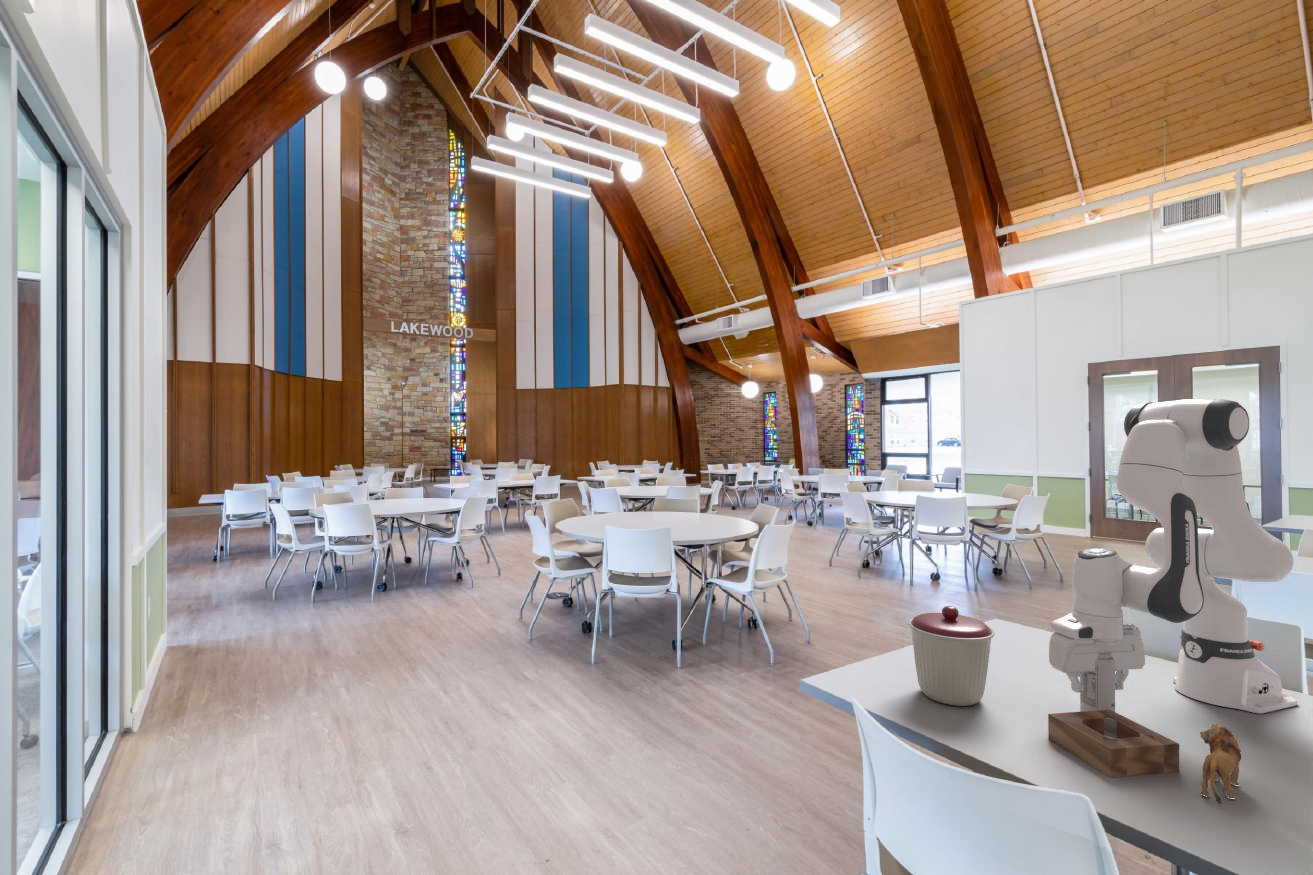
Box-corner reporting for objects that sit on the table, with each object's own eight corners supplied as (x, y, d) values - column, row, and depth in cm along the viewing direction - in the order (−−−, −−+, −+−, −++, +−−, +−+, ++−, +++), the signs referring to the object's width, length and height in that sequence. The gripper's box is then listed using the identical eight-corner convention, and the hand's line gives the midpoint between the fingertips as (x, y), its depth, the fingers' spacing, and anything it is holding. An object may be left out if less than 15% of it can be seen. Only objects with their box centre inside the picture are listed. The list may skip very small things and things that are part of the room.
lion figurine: (1200, 766, 110) (1199, 717, 110) (1240, 777, 106) (1240, 726, 106) (1199, 801, 99) (1199, 746, 99) (1244, 815, 95) (1244, 758, 95)
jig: (1110, 734, 122) (1110, 709, 122) (1179, 771, 108) (1179, 743, 108) (1048, 738, 120) (1048, 713, 120) (1110, 777, 106) (1110, 748, 106)
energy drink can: (1121, 727, 125) (1121, 655, 125) (1088, 725, 126) (1088, 653, 126) (1105, 715, 130) (1105, 645, 131) (1074, 712, 132) (1074, 644, 132)
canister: (978, 684, 147) (978, 598, 147) (1007, 717, 129) (1007, 619, 129) (900, 679, 150) (900, 594, 150) (918, 710, 132) (918, 615, 133)
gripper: (1126, 619, 133) (1126, 681, 133) (1043, 622, 130) (1043, 686, 130) (1153, 627, 127) (1153, 693, 126) (1067, 631, 124) (1067, 698, 124)
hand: (1097, 690), depth 128 cm, fingers open, 8 cm apart
